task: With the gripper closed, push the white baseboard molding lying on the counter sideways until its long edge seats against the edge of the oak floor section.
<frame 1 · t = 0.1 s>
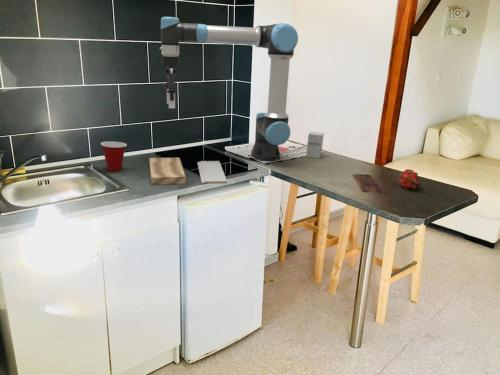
hand: (170, 105, 189), 28 cm above the worktop, tool pointing down, fingers open, 13 cm apart
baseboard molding: (209, 174, 193), on the worktop
plastic cup: (115, 169, 190), on the worktop
oak floor section: (166, 173, 188), on the worktop
wooden tablet: (367, 184, 189), on the worktop
dragon fruit: (408, 188, 185), on the worktop
supplement box: (313, 156, 229), on the worktop
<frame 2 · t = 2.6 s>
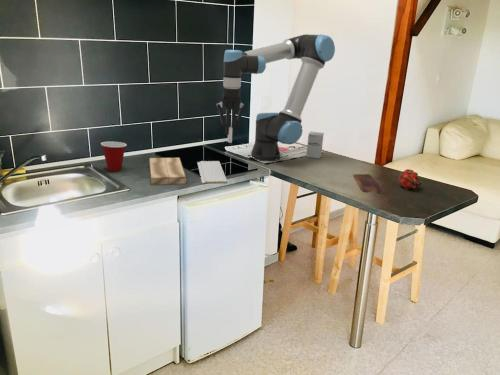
hand: (229, 141, 190), 14 cm above the worktop, tool pointing down, fingers closed
nothing on the worktop moved.
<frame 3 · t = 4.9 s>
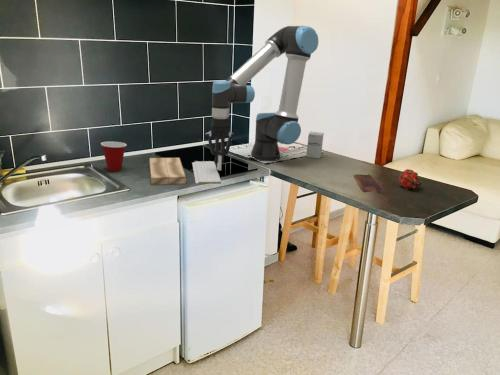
hand: (219, 169, 193), 1 cm above the worktop, tool pointing down, fingers closed
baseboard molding: (204, 174, 192), on the worktop, touching gripper
everything else where it was.
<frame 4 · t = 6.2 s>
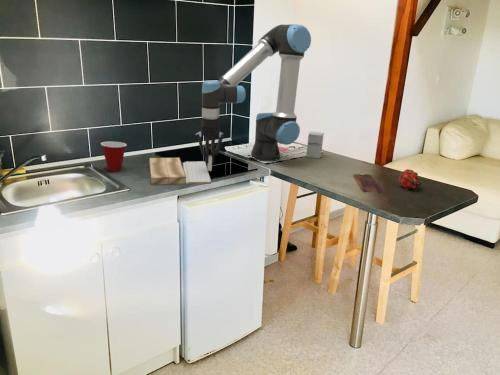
hand: (209, 169, 192), 1 cm above the worktop, tool pointing down, fingers closed
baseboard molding: (194, 174, 191), on the worktop
everything else where it was.
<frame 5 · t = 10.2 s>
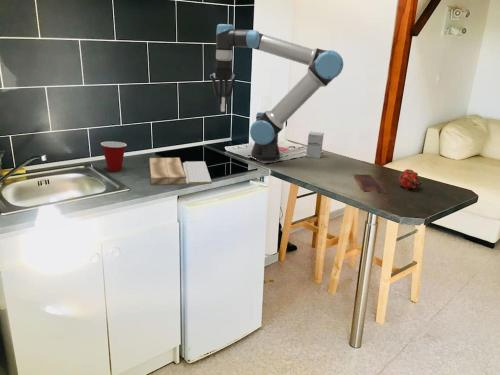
hand: (222, 111, 205), 24 cm above the worktop, tool pointing down, fingers closed
nothing on the worktop moved.
at the end: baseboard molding inside the target area on the worktop beside the oak floor section (1.3 cm from its centre), on the worktop; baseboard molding tilted 1°; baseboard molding moved 6.8 cm from its start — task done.
